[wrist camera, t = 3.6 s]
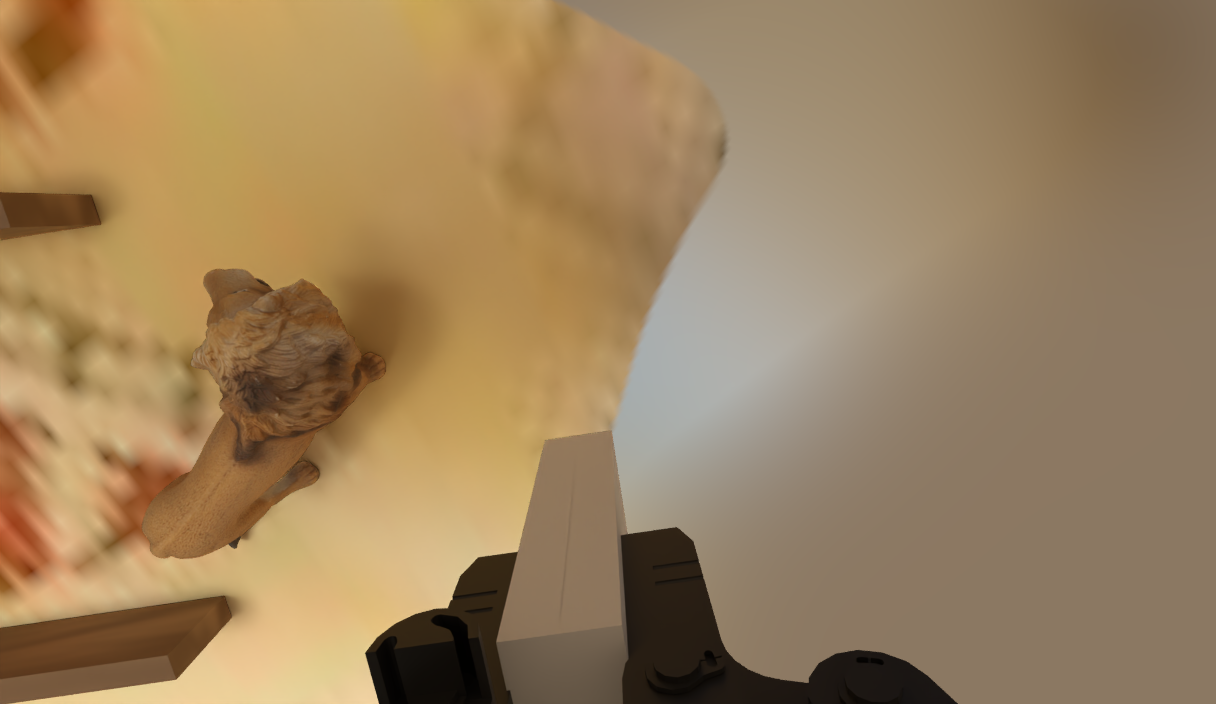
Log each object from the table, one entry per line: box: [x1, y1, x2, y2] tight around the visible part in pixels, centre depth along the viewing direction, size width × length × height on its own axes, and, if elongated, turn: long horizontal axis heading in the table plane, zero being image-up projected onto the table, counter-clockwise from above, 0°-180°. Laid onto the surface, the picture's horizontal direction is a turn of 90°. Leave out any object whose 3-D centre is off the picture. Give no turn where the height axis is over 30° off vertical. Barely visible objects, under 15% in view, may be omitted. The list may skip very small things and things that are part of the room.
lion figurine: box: [142, 269, 386, 559], centre depth 23 cm, size 15×5×9 cm, turn 151°
